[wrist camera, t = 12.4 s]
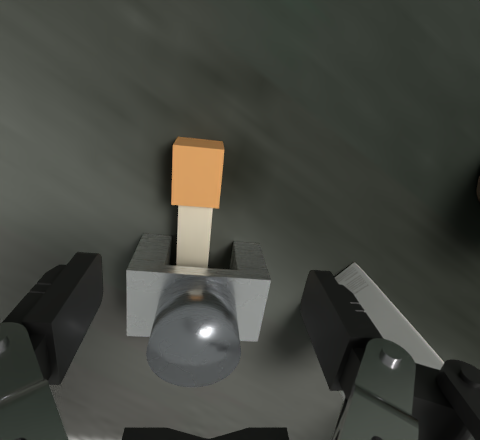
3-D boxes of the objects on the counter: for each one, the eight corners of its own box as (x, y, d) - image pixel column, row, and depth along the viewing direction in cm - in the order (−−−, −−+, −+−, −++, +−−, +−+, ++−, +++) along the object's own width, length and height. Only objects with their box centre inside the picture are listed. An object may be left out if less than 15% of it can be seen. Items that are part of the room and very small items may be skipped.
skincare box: (328, 329, 38) (398, 474, 24) (297, 300, 36) (353, 442, 21) (384, 290, 36) (496, 422, 22) (355, 256, 34) (458, 380, 20)
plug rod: (222, 141, 27) (224, 149, 24) (205, 333, 37) (204, 360, 33) (178, 136, 27) (172, 144, 23) (171, 332, 36) (167, 360, 32)
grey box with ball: (259, 243, 32) (283, 321, 21) (249, 296, 35) (266, 389, 24) (143, 233, 30) (106, 312, 20) (142, 289, 33) (109, 386, 23)
